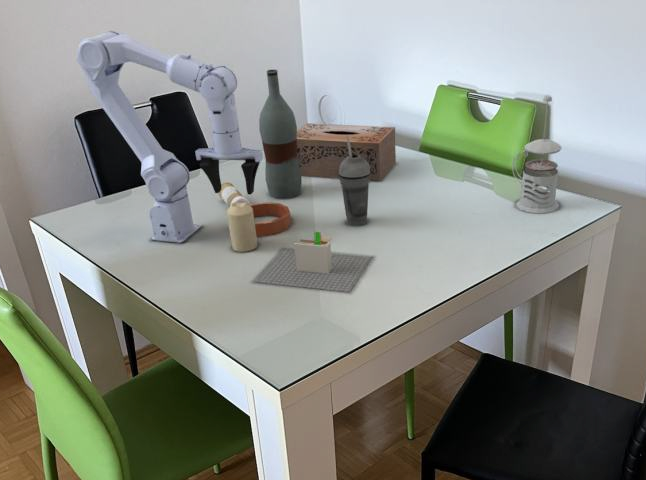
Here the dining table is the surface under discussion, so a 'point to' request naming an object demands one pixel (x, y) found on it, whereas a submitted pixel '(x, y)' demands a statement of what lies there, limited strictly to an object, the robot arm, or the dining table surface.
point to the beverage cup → (355, 187)
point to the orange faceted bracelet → (273, 225)
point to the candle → (242, 227)
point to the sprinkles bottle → (231, 195)
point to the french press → (539, 197)
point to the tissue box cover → (344, 148)
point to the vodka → (279, 143)
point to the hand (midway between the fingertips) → (234, 192)
